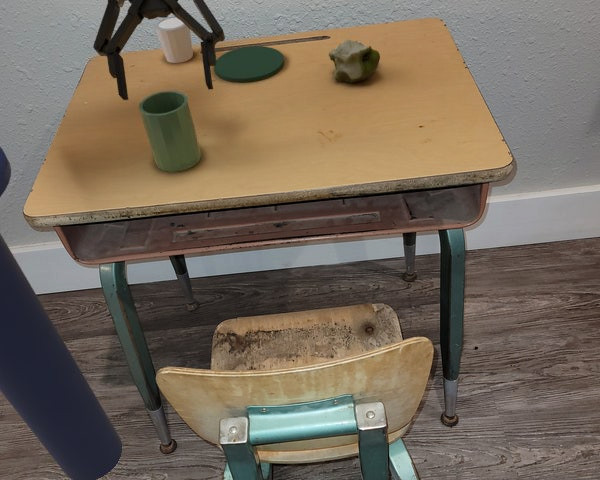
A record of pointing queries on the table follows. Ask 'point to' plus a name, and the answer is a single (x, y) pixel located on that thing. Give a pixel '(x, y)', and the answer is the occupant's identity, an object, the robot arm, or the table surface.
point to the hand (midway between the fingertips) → (166, 92)
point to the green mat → (249, 64)
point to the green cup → (170, 130)
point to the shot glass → (174, 39)
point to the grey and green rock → (354, 61)
